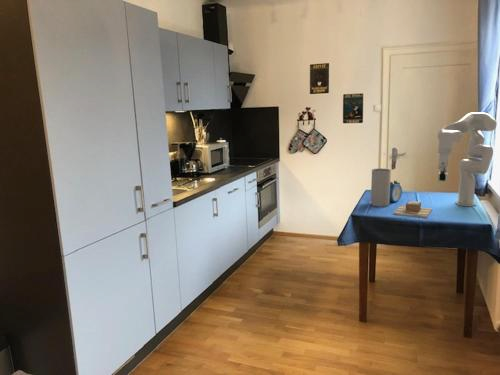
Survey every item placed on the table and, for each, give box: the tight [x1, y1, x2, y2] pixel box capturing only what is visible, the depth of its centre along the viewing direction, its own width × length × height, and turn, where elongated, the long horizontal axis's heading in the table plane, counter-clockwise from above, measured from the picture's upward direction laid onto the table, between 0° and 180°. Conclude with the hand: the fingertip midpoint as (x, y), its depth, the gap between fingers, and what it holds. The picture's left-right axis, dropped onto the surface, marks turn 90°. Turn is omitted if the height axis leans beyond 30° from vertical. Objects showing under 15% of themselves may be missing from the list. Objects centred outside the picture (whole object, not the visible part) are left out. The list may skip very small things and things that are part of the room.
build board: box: [393, 200, 433, 219], centre depth 267 cm, size 20×20×6 cm
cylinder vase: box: [370, 168, 392, 208], centre depth 286 cm, size 12×12×25 cm
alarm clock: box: [389, 180, 403, 203], centre depth 295 cm, size 13×6×15 cm, turn 128°
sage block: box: [437, 172, 449, 183], centre depth 259 cm, size 5×5×5 cm
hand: (442, 179), depth 259 cm, fingers closed on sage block, 4 cm apart
